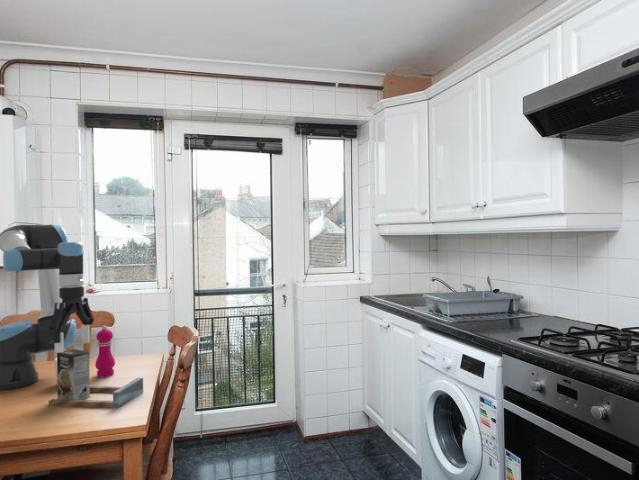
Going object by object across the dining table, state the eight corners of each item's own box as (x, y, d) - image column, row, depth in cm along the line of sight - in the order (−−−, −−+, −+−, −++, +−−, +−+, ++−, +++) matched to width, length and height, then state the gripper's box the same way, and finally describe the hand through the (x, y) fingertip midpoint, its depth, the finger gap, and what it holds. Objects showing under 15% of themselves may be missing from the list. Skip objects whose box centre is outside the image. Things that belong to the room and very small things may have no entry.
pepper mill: (109, 377, 177) (108, 327, 177) (92, 377, 177) (91, 327, 177) (118, 371, 184) (117, 324, 184) (101, 372, 185) (100, 324, 184)
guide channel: (48, 405, 147) (48, 390, 147) (79, 390, 162) (78, 376, 162) (119, 407, 144) (118, 392, 144) (143, 391, 159) (142, 377, 159)
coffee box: (56, 398, 154) (55, 352, 154) (74, 393, 159) (73, 348, 159) (73, 403, 149) (72, 355, 149) (90, 396, 155) (89, 350, 155)
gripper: (56, 290, 141) (57, 356, 141) (103, 282, 166) (104, 339, 166) (34, 290, 142) (36, 356, 142) (84, 283, 167) (86, 339, 167)
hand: (73, 347), depth 154 cm, fingers open, 13 cm apart
